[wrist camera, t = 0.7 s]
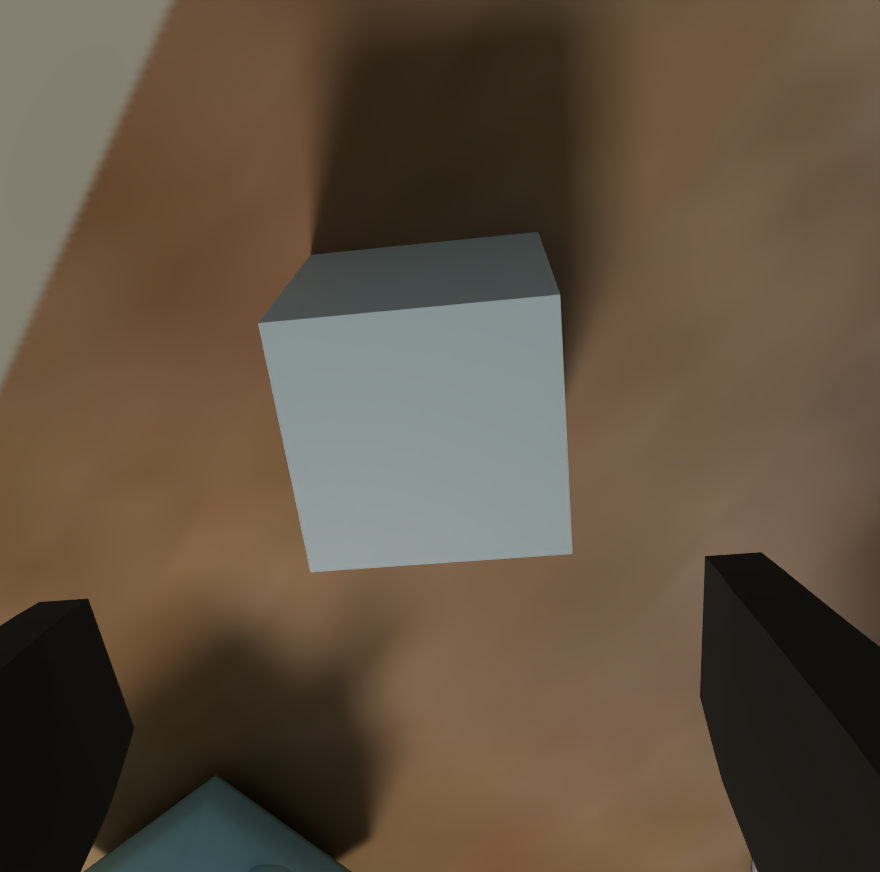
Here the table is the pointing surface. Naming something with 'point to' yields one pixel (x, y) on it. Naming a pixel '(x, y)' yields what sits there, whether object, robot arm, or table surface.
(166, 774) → the table surface
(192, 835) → the light blue knobbed box
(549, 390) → the dusty blue block
